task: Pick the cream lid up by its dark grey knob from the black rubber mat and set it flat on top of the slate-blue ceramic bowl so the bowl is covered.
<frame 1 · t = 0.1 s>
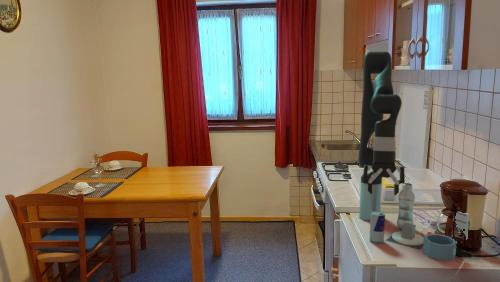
hand: (382, 194, 139), 22 cm above the counter, tool pointing down, fingers open, 8 cm apart
syrup box: (462, 247, 147), on the counter
bowl: (438, 255, 139), on the counter
plastic bottle: (404, 229, 164), on the counter
mat: (407, 240, 152), on the counter
energy drink: (376, 242, 151), on the counter
lid: (407, 239, 152), resting on mat
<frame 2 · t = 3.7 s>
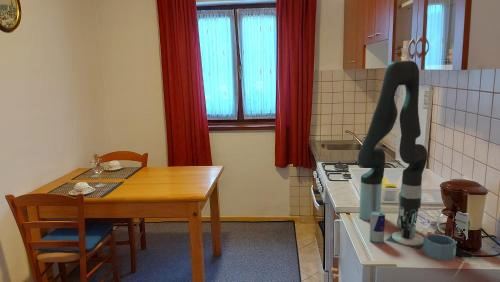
hand: (408, 236, 152), 2 cm above the counter, tool pointing down, fingers closed on lid, 4 cm apart
lid: (407, 239, 152), resting on mat, touching gripper
everything else where it was.
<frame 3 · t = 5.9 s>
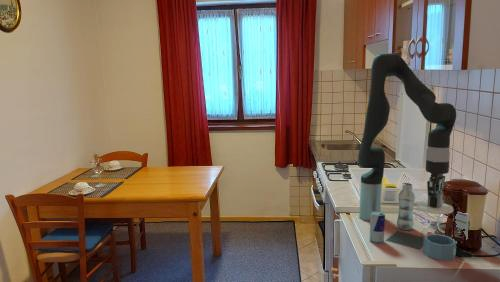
hand: (434, 205, 139), 18 cm above the counter, tool pointing down, fingers closed on lid, 4 cm apart
lid: (434, 208, 139), point 17 cm above the counter, touching gripper
everything else where it was.
when the fingers open (9 cm above the counter, at t = 8.5 s): lid drops 2 cm, resting on bowl.
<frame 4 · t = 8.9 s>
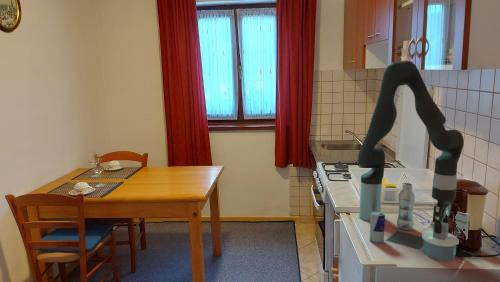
hand: (440, 229, 138), 10 cm above the counter, tool pointing down, fingers open, 8 cm apart
lid: (440, 239, 139), point 6 cm above the counter, touching bowl
everything else where it was.
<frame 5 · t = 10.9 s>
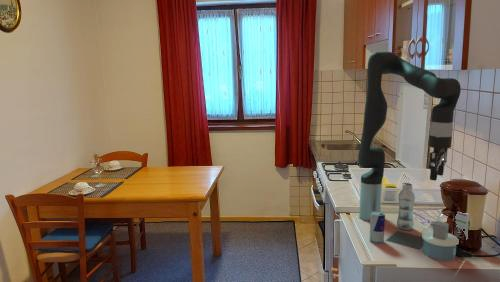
hand: (436, 177, 141), 28 cm above the counter, tool pointing down, fingers open, 8 cm apart
nothing on the counter moved.
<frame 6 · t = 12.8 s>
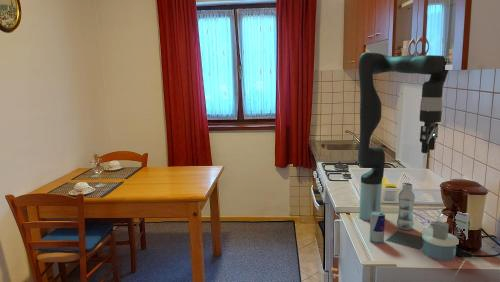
hand: (427, 151, 147), 36 cm above the counter, tool pointing down, fingers open, 8 cm apart
nothing on the counter moved.
at the end: lid 0.0 cm off-centre on the bowl, point 6.0 cm above the bowl's base; lid tilted 0°; the gripper is holding nothing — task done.
